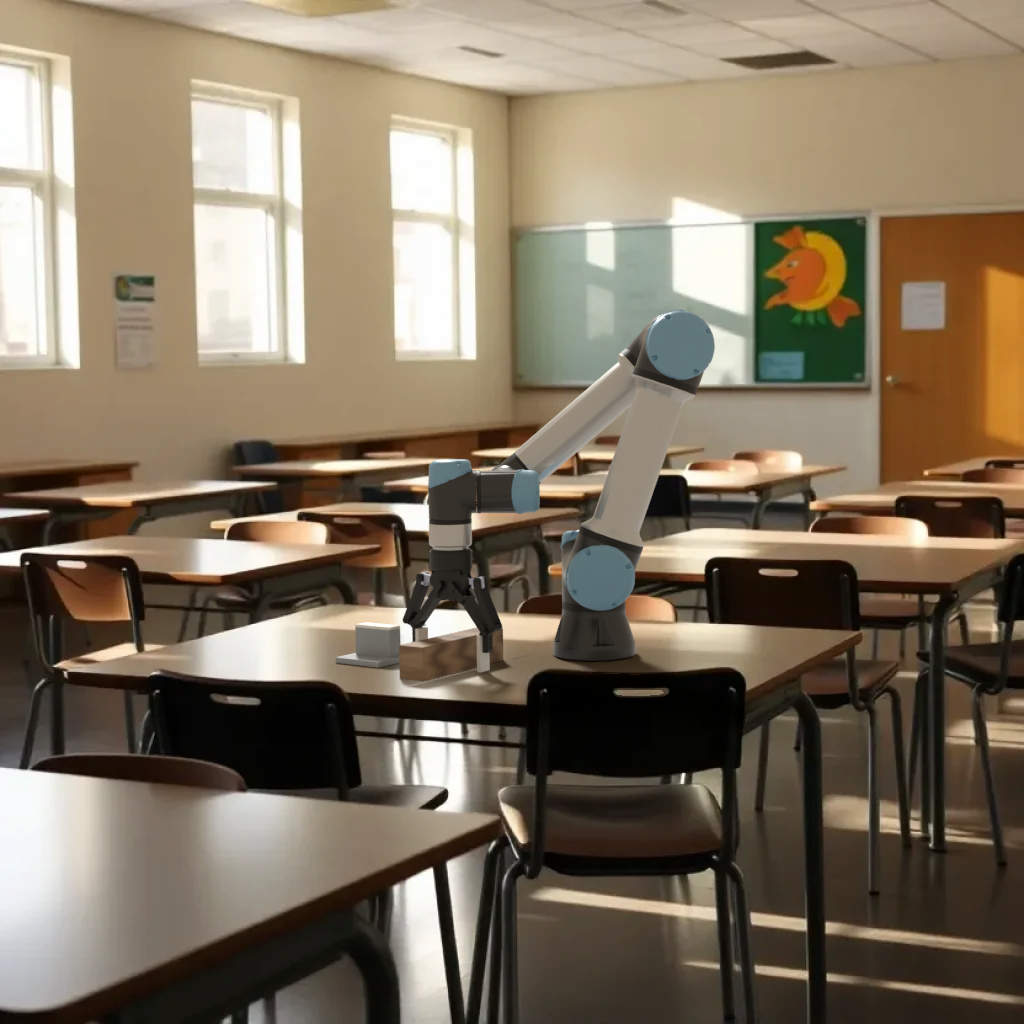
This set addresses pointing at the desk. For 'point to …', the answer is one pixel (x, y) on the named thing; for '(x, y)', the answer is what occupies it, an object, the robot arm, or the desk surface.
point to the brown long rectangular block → (444, 654)
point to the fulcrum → (374, 645)
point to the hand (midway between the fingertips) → (452, 667)
